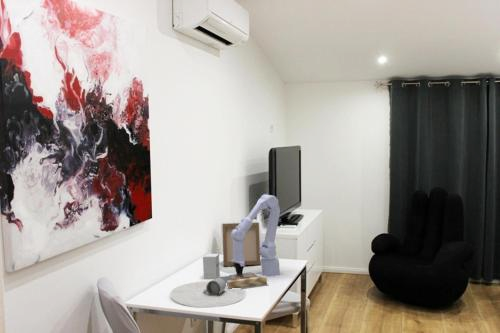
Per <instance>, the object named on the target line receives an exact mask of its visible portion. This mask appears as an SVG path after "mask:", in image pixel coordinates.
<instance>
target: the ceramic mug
mask: <svg viewBox="0 0 500 333" xmlns="http://www.w3.org/2000/svg"><path fill="white" fill-rule="evenodd" d="M207 282H208V283H207V284H206V287H205V289H204V290H203V294H204V293H205V294H208V295H209V296H212V295H213V294H212V293H214V294H215V297H216V296H219V295H220V294H222V293H223V292H224V291H225V289H226V288H227V286H226V283H225V281H224V280H223V279H221V278H216V279H210V281H207ZM218 293H219V294H218ZM205 294H204V295H205ZM211 294H212V295H211ZM217 294H218V295H217Z"/></svg>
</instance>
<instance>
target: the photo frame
mask: <svg viewBox="0 0 500 333" xmlns="http://www.w3.org/2000/svg"><path fill="white" fill-rule="evenodd" d="M239 224H240V222H239V223H238V222H237V223H235V222H233V223H222V252H223V253H222V256H223V257H222V260H223V262H222V263H223V267H224V266H234V265H233V263H236V262H232V261H231V260H233V238H232V237H231V234H232V233H231V232H232V231H233V230H234V229H236V226H238V225H239ZM243 245H244V260H245V261H244V264H245V266H249V265H250V266H253V265H257V266H258V265H261V255H260V253H259V249H260V247H261V244H260V223H259V222H252V225H251V227H250V228H249V229H248V231H247V232H246V233H245V238H244V239H243Z"/></svg>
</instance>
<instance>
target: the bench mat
mask: <svg viewBox="0 0 500 333" xmlns="http://www.w3.org/2000/svg"><path fill="white" fill-rule="evenodd" d="M251 273H252V274H253V275H255V277H259V276H258V275H256V274H255V272H251ZM218 278H221V279H223V280H224V281H225V283H227V281H229V275H225V276H219V277H218ZM268 286H269V284H268V283H267V284H264V285H257V286H249V287H242V288H241V289H240V290H246V289H252V288H261V287H268Z"/></svg>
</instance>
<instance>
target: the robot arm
mask: <svg viewBox="0 0 500 333" xmlns="http://www.w3.org/2000/svg"><path fill="white" fill-rule="evenodd" d="M266 209H267V210H268V212H269V216H268V221H267V226H266V232H265V237H264V240H263V242H262V243H261V245H260V249H259V253H260V265H261V272H259V275H260V276H266V277H273V276H274V277H275V276H280V275H281V272H280V261H279V259H278V257H276V256H277V252H276V250H277V246H276V243H275V240H276V235H277V230H278V225H279V219H280V215H281V214H280V213H281V208H280V204H279V199H278V198H277V196H275V195H271V194H266V193H264V194H262V195H261V196H260V198H259V199H258V200H257V202H256V204H254V206H253V208H252V210H251V211H250V212H249V213H248V215H247V216H246V217H243V218H241V219H240V222H239V223H240V224H239V225H238V226H236V229H234V230H233V231H232V232H231V233H232V234H231V237H232V238H233V260H231V261H232V262H236V263H233V265H232V266H233V267H234V269H235V272H236V273H235V274H241V273H244V271H243V270H244V268H245V266H246V265H245V264H244V261H245V260H244V245H243V239H244V238H245V233H246V232H247V231H248V229H249V228H250V227H251V225H252V223H253V221H254V219H255V218H256V217H257V216H258V215H259V213H260V212H261V211H262V210H266Z"/></svg>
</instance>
